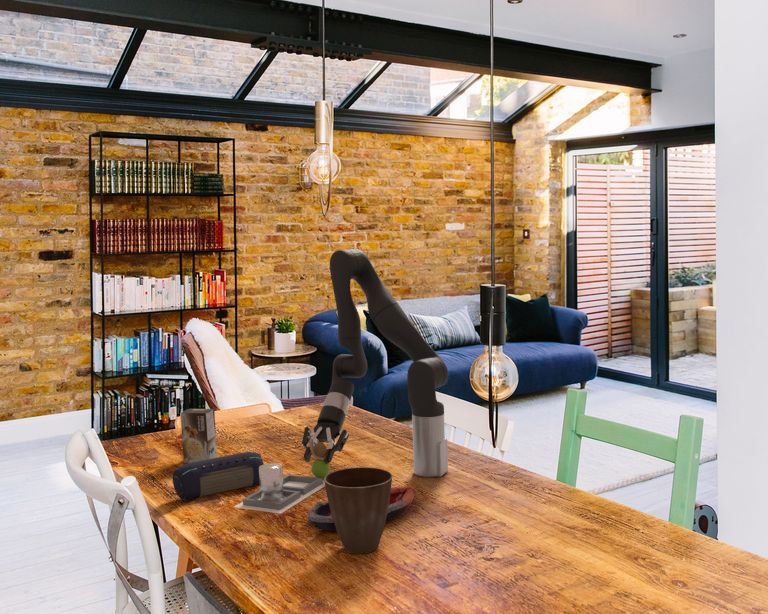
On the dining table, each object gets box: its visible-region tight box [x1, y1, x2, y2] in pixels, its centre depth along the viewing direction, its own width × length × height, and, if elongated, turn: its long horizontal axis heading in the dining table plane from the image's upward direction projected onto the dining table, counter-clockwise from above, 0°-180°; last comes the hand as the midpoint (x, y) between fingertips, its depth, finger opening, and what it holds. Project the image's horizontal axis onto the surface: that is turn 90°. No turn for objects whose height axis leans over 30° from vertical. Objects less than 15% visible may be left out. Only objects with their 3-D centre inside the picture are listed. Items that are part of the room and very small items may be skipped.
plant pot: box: [323, 466, 393, 555], centre depth 169 cm, size 15×15×16 cm
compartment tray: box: [233, 473, 325, 514], centre depth 203 cm, size 14×26×3 cm, turn 156°
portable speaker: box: [172, 451, 264, 502], centre depth 210 cm, size 25×10×10 cm, turn 124°
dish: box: [307, 486, 416, 532], centre depth 188 cm, size 16×31×5 cm, turn 123°
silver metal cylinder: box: [258, 462, 284, 502], centre depth 197 cm, size 6×6×9 cm
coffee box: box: [180, 408, 218, 464], centre depth 242 cm, size 9×6×16 cm
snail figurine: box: [308, 436, 331, 479], centre depth 220 cm, size 5×6×12 cm
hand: (316, 461), depth 218 cm, fingers closed on snail figurine, 5 cm apart
